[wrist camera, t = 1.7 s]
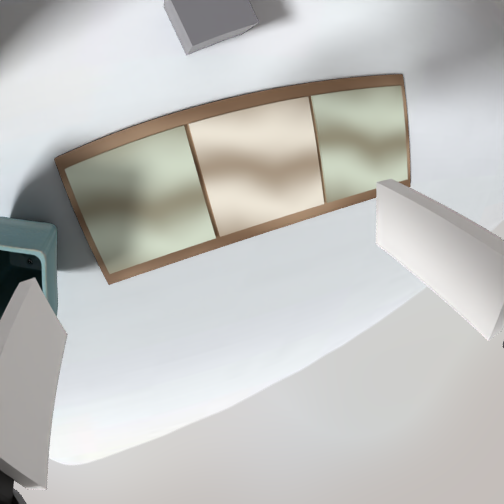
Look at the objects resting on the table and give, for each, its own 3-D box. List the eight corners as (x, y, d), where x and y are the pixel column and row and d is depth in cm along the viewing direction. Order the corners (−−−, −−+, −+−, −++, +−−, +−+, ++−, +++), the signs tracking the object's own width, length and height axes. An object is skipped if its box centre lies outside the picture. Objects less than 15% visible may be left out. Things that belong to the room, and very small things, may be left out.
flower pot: (74, 206, 25) (45, 252, 18) (71, 289, 29) (53, 351, 21) (-7, 195, 22) (-55, 236, 14) (-2, 277, 25) (-35, 332, 18)
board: (56, 157, 23) (53, 159, 22) (399, 74, 27) (404, 74, 27) (109, 281, 29) (108, 286, 29) (407, 185, 34) (412, 187, 33)
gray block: (163, 7, 20) (165, -11, 15) (219, -13, 20) (233, -33, 16) (186, 55, 22) (192, 46, 18) (241, 34, 22) (259, 22, 18)
